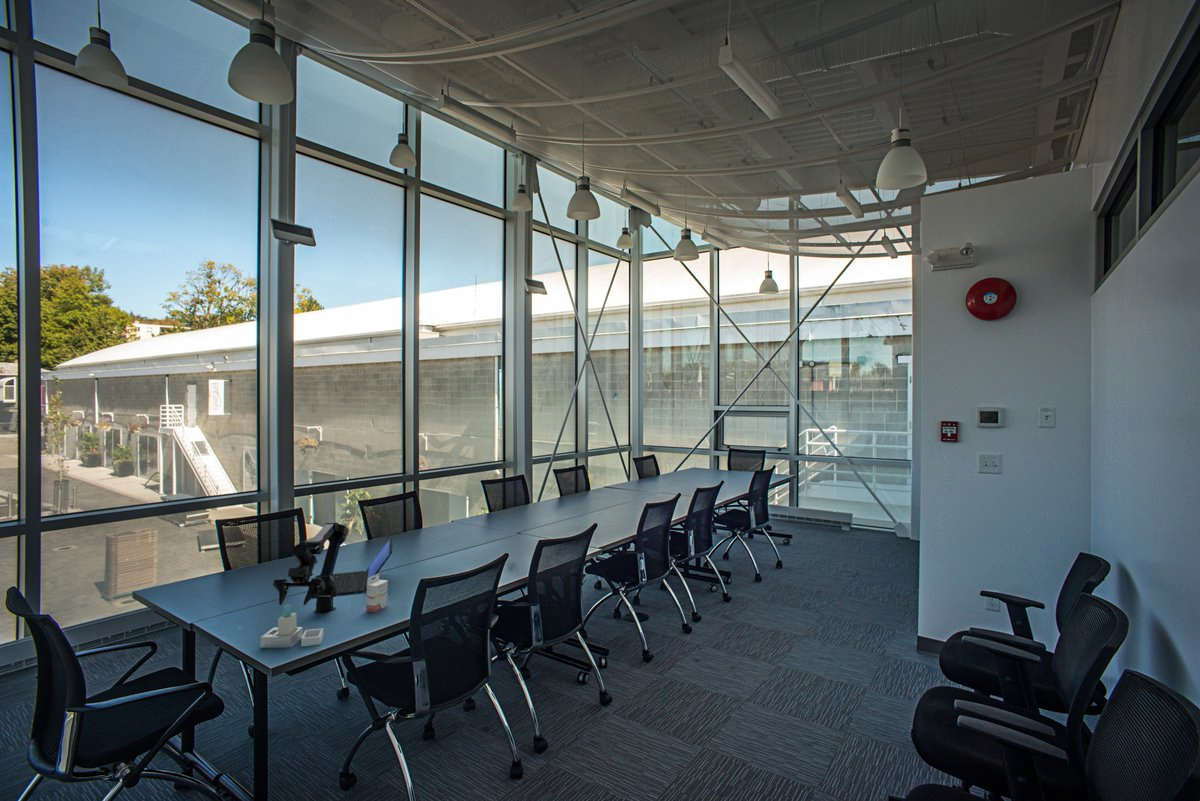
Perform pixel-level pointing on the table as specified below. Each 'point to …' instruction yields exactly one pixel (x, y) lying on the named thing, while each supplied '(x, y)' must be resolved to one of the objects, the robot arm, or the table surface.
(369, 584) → the ink cartridge box
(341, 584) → the laptop
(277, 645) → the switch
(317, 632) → the box
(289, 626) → the plug
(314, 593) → the robot arm
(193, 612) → the table surface
